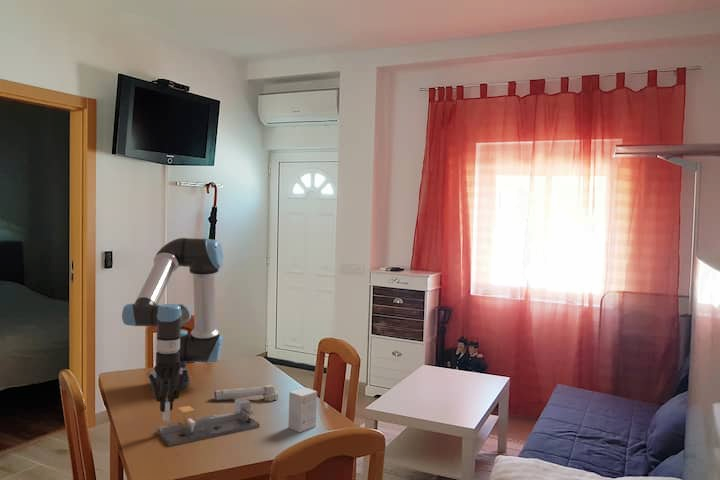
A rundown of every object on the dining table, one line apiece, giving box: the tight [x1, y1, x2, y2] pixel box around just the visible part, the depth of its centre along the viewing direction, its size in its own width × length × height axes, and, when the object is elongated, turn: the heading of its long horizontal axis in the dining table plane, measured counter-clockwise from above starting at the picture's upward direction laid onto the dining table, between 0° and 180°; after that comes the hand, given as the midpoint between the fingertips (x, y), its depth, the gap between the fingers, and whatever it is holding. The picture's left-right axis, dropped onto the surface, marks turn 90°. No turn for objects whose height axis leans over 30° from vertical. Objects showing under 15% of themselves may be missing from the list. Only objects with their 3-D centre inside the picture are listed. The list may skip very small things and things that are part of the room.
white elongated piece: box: [214, 384, 279, 402], centre depth 225 cm, size 5×7×25 cm
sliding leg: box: [177, 405, 196, 432], centre depth 189 cm, size 9×4×6 cm, turn 37°
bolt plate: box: [155, 397, 261, 447], centre depth 193 cm, size 13×32×7 cm, turn 127°
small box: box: [287, 387, 318, 433], centre depth 199 cm, size 8×6×13 cm
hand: (165, 420), depth 187 cm, fingers closed
